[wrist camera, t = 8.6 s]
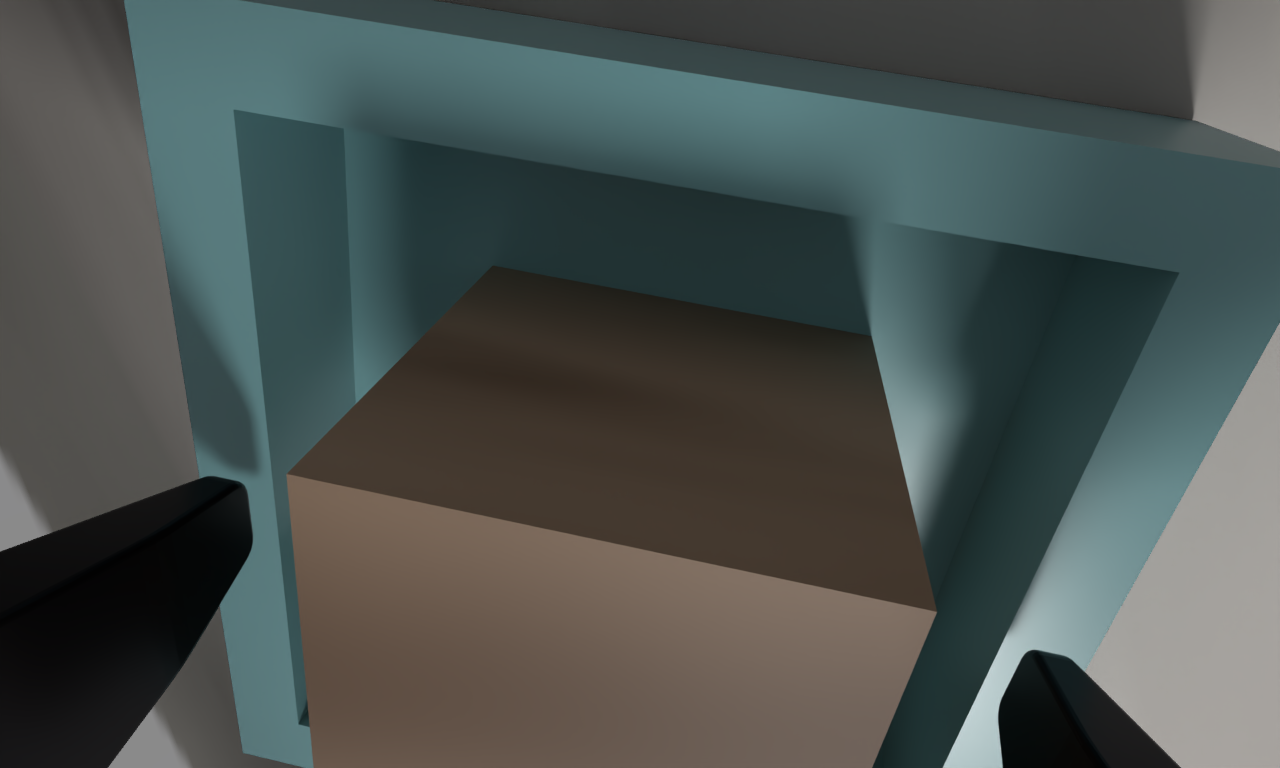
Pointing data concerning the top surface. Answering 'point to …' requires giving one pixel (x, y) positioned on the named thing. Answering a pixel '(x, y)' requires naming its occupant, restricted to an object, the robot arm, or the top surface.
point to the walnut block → (609, 543)
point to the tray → (714, 282)
